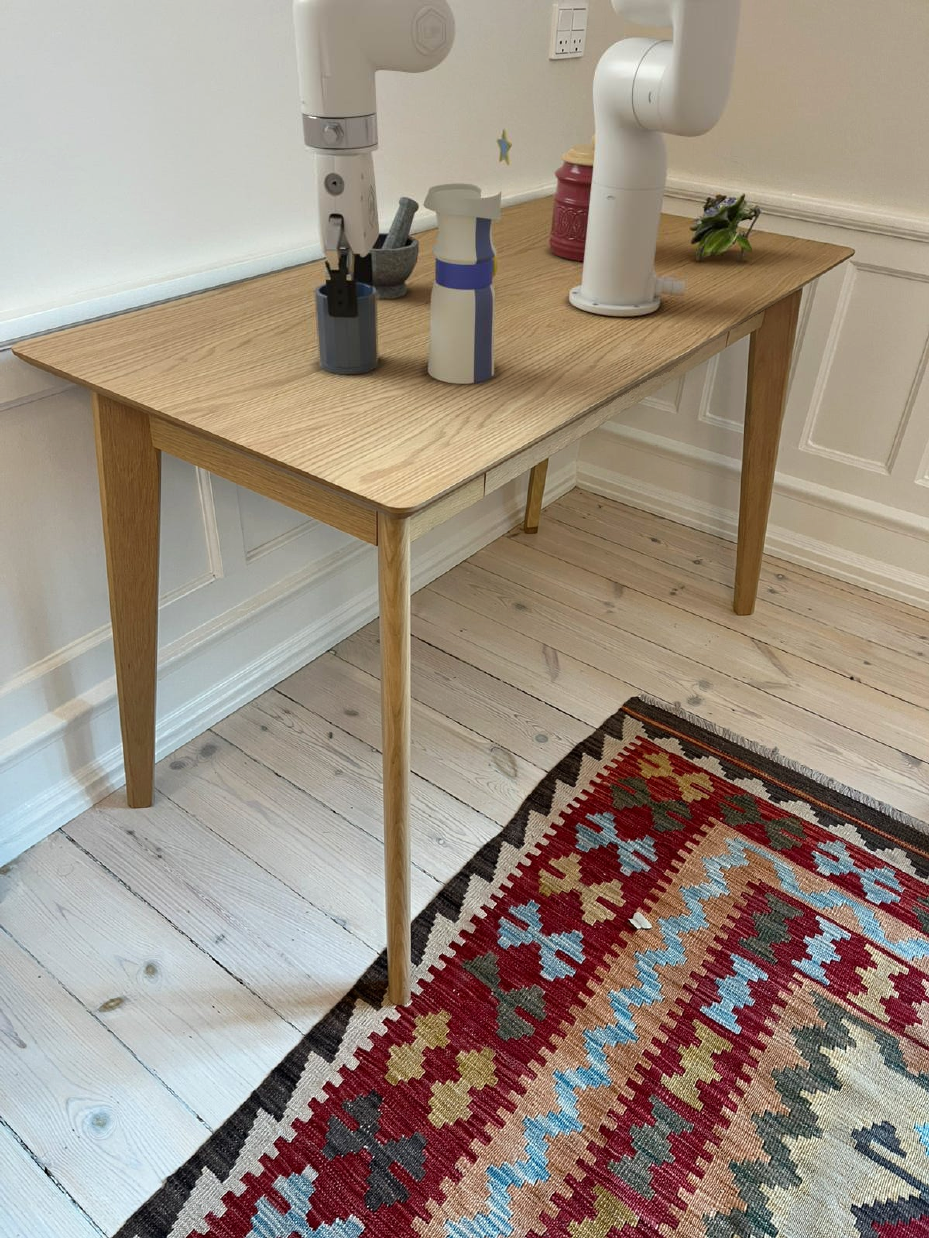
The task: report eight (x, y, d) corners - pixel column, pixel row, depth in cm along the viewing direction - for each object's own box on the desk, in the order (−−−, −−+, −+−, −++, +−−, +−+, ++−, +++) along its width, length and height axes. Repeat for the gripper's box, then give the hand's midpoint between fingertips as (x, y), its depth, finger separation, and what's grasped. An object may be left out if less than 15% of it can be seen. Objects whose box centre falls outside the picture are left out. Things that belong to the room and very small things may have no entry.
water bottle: (460, 352, 112) (466, 120, 98) (511, 372, 107) (525, 131, 93) (409, 368, 108) (407, 127, 93) (460, 389, 103) (467, 138, 88)
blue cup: (382, 355, 111) (380, 283, 106) (372, 376, 105) (370, 300, 100) (326, 352, 111) (321, 279, 106) (313, 373, 106) (308, 297, 101)
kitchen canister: (632, 265, 147) (648, 141, 136) (550, 262, 147) (560, 138, 136) (622, 244, 157) (637, 127, 147) (546, 241, 157) (555, 125, 147)
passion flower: (700, 283, 158) (724, 216, 158) (757, 286, 151) (783, 215, 150) (668, 252, 150) (693, 180, 149) (727, 253, 143) (754, 177, 142)
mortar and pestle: (380, 307, 126) (378, 212, 119) (335, 291, 131) (331, 200, 124) (439, 291, 133) (440, 201, 126) (394, 277, 138) (392, 189, 131)
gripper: (362, 149, 87) (372, 329, 97) (390, 119, 101) (396, 280, 111) (283, 148, 88) (301, 327, 98) (322, 118, 101) (334, 278, 112)
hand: (351, 302), depth 104 cm, fingers open, 9 cm apart
